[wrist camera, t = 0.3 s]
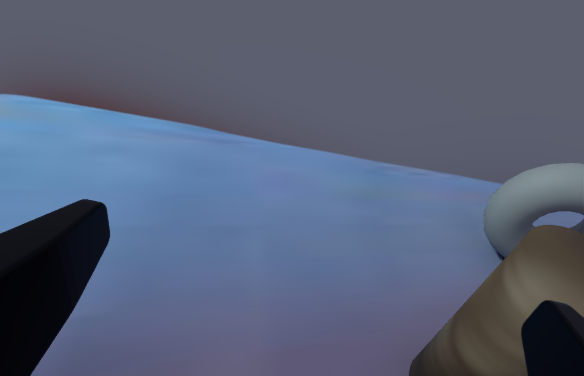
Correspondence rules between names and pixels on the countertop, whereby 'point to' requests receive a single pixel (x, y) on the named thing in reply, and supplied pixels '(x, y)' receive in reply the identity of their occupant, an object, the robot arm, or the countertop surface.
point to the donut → (532, 202)
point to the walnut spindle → (508, 307)
